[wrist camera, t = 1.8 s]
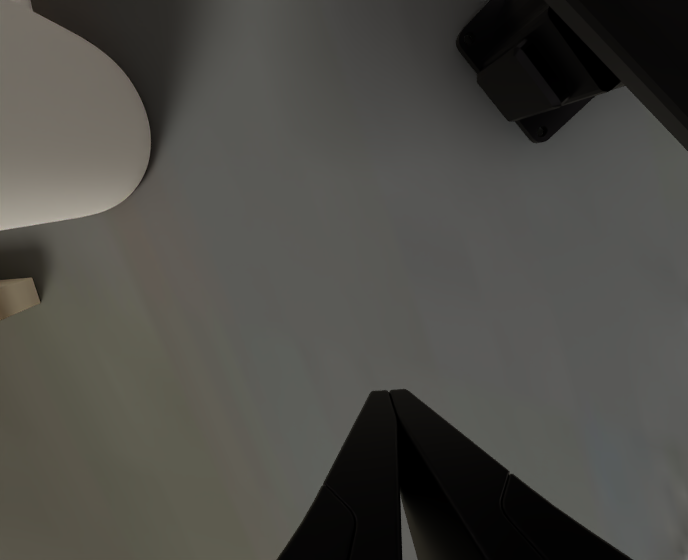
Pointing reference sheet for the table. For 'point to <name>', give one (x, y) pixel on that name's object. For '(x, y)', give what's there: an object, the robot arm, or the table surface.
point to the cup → (63, 123)
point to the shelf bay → (17, 296)
